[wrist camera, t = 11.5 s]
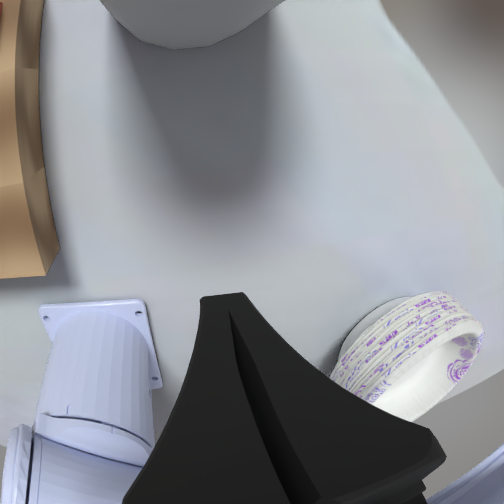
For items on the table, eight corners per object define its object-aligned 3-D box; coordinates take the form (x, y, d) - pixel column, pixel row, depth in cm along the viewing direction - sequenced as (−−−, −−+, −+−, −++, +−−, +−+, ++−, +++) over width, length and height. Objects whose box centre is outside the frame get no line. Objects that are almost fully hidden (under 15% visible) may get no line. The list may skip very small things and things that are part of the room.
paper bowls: (445, 324, 32) (483, 367, 25) (344, 399, 34) (371, 451, 27) (427, 238, 24) (491, 290, 17) (283, 345, 25) (318, 423, 19)
